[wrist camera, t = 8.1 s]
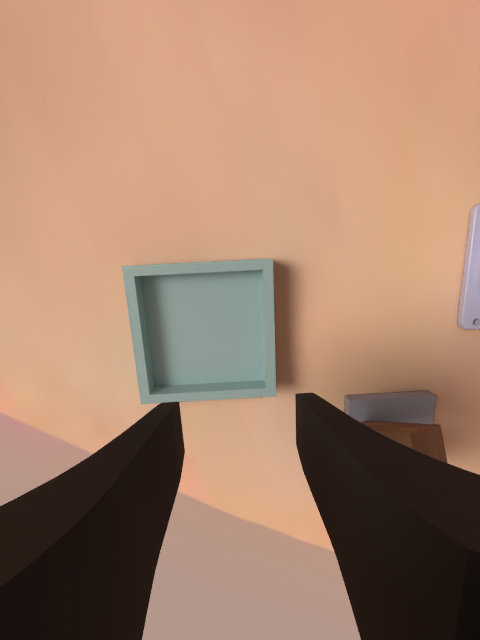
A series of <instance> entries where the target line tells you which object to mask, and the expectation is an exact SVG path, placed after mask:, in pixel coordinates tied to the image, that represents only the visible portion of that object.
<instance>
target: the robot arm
mask: <svg viewBox="0 0 480 640" xmlns="http://www.w3.org/2000/svg"><path fill="white" fill-rule="evenodd" d="M474 319H475V323H474V324H473V320H474ZM458 326H459V327H460V328H462V329H467V330H470V329H480V204H477V205H475V206H474V207H473V208H472V211H471V216H470V224H469V232H468V240H467V249H466V257H465V265H464V273H463V282H462V290H461V298H460V306H459V314H458ZM296 445H297V449H298V453H299V457H300V461H301V464H302V468H303V472H304V474H305V477H306V479H307V482H308V485H309V487H310V490H311V492H312V495H313V497H314V500H315V502H316V505H317V507H318V510H319V512H320V515H321V517H322V520H323V522H324V525H325V528H326V530H327V533H328V535H329V538H330V540H331V543H332V546H333V549H334V551H335V554H336V557H337V560H338V563H339V567H340V570H341V573H342V576H343V580H344V583H345V586H346V590H347V593H348V596H349V600H350V603H351V606H352V610H353V613H354V617H355V620H356V623H357V627H358V631H359V634H360V637H361V640H480V475H478V474H475V473H472V472H469V471H466V470H463V469H461V468H458V467H456V466H453V465H450V464H448V463H445V462H442V461H440V460H437V459H434V458H432V457H430V456H427V455H425V454H422V453H420V452H418V451H416V450H413V449H411V448H409V447H407V446H405V445H403V444H400V443H398V442H396V441H394V440H392V439H390V438H388V437H386V436H384V435H382V434H380V433H378V432H377V431H375V430H373V429H371V428H369V427H368V426H366V425H364V424H362V423H361V422H359V421H357V420H355V419H354V418H352V417H350V416H349V415H347V414H346V413H344V412H342V411H341V410H339V409H338V408H336V407H335V406H333V405H332V404H330V403H329V402H327V401H326V400H324V399H322V398H321V397H319V396H318V395H316V394H314V393H300V394H296ZM184 453H185V450H184V442H183V433H182V424H181V415H180V406H179V402H164V403H161V404H159V405H158V406H156V407H155V408H154V409H152V410H151V411H150V412H149V413H147V414H146V415H145V416H144V417H142V418H141V419H140V420H139V421H137V422H136V423H135V424H133V425H132V426H131V427H130V428H128V429H127V430H126V431H125V432H123V433H122V434H121V435H119V436H118V437H116V438H115V439H114V440H112V441H111V442H110V443H108V444H107V445H105V446H104V447H103V448H101V449H100V450H98V451H97V452H96V453H94V454H93V455H91V456H90V457H88V458H87V459H85V460H83V461H82V462H80V463H79V464H77V465H76V466H74V467H72V468H70V469H69V470H67V471H66V472H64V473H62V474H61V475H59V476H57V477H55V478H54V479H52V480H50V481H48V482H46V483H44V484H42V485H40V486H39V487H37V488H35V489H33V490H31V491H29V492H27V493H25V494H24V495H22V496H20V497H18V498H16V499H14V500H12V501H10V502H8V503H6V504H4V505H2V506H0V640H142V636H143V630H144V625H145V619H146V614H147V609H148V604H149V599H150V594H151V589H152V584H153V579H154V574H155V569H156V565H157V561H158V557H159V553H160V550H161V546H162V543H163V539H164V536H165V532H166V529H167V525H168V522H169V518H170V515H171V511H172V508H173V504H174V501H175V497H176V494H177V490H178V487H179V483H180V479H181V473H182V467H183V460H184Z"/></svg>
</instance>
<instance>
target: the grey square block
mask: <svg viewBox="0 0 480 640" xmlns="http://www.w3.org/2000/svg"><path fill="white" fill-rule="evenodd" d="M435 402H436V396H435V395H434V394H432V393H431V392H429V391H412V392H395V393H377V394H360V395H345V412H344V413H346V414H347V415H349V416H350V417H352V418H354V419H355V420H357V421H359V422H363V421H384V422H402V423H419V424H433V420H434V411H435Z"/></svg>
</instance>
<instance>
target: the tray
mask: <svg viewBox="0 0 480 640" xmlns="http://www.w3.org/2000/svg"><path fill="white" fill-rule="evenodd" d="M122 269H123V277H124V284H125V291H126V298H127V305H128V313H129V320H130V327H131V334H132V341H133V349H134V356H135V363H136V370H137V378H138V385H139V392H140V399H141V404H152V403H164V402H187V401H204V400H221V399H239V398H256V397H273V396H276V366H275V324H274V282H273V259H253V260H233V261H214V262H194V263H174V264H155V265H135V266H122Z"/></svg>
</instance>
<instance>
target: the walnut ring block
mask: <svg viewBox="0 0 480 640" xmlns="http://www.w3.org/2000/svg"><path fill="white" fill-rule="evenodd" d="M361 423H362V424H364V425H366V426H368V427H369V428H371V429H373V430H375V431H377V432H378V433H380V434H382V435H384V436H386V437H388V438H390V439H392V440H394V441H396V442H398V443H400V444H403V445H405V446H407V447H409V448H411V449H413V450H416V451H418V452H420V453H422V454H425V455H427V456H430V457H432V458H434V459H437V460H440V461H442V462H445V463H447V459H446V454H445V448H444V443H443V437H442V432H441V427H440V425H437V424H419V423H402V422H384V421H363V422H361Z"/></svg>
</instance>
